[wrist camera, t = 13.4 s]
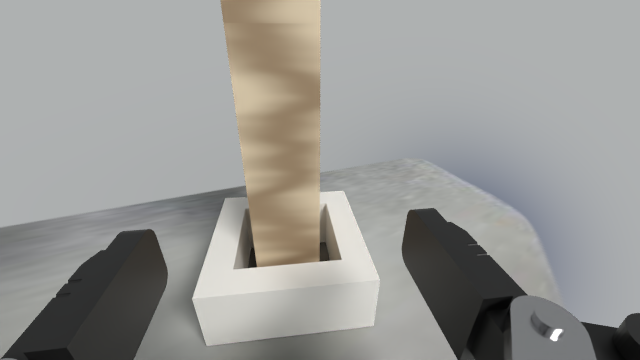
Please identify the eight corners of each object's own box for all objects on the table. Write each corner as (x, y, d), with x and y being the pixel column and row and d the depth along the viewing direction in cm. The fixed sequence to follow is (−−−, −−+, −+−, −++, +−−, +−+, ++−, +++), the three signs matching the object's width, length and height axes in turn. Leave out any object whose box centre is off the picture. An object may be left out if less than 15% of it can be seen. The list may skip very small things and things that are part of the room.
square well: (206, 346, 16) (192, 298, 14) (232, 236, 25) (225, 198, 23) (373, 326, 17) (380, 279, 16) (341, 227, 26) (343, 190, 24)
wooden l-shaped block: (261, 299, 19) (217, -22, 11) (266, 234, 25) (241, -2, 17) (319, 293, 20) (320, -20, 11) (310, 231, 26) (307, -1, 17)
